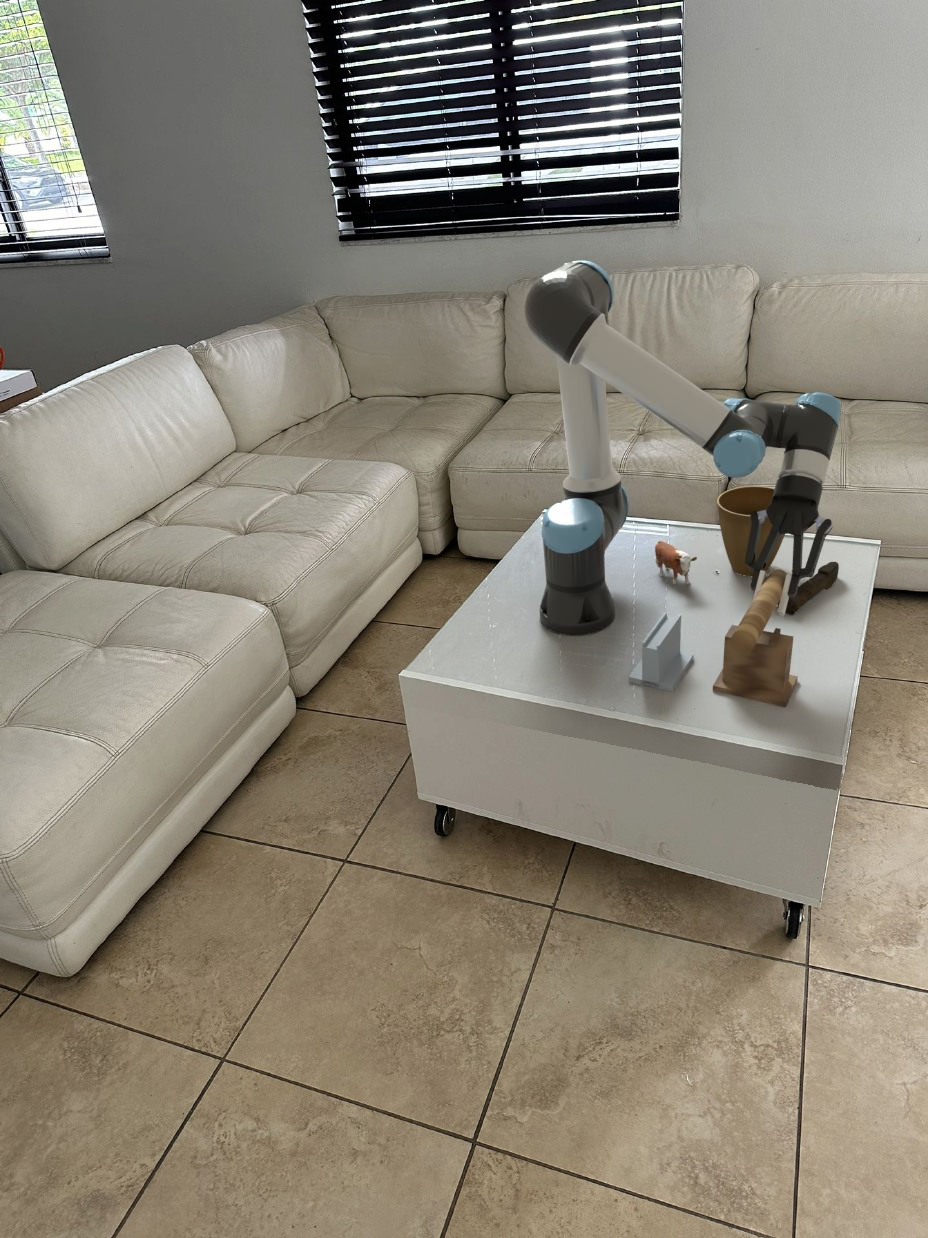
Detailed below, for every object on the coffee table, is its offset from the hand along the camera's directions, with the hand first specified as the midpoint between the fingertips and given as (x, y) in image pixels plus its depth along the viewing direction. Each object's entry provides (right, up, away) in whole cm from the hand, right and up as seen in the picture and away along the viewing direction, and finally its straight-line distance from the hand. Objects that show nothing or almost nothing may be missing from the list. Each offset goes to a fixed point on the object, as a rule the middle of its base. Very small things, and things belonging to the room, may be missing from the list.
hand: (767, 611), depth 135 cm
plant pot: (+10, +9, +38) cm, 40 cm away
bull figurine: (-6, +7, +37) cm, 38 cm away
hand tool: (+18, +3, +26) cm, 32 cm away
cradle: (-15, -10, +10) cm, 21 cm away
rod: (-3, -1, -4) cm, 5 cm away
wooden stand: (-1, -13, +3) cm, 13 cm away
